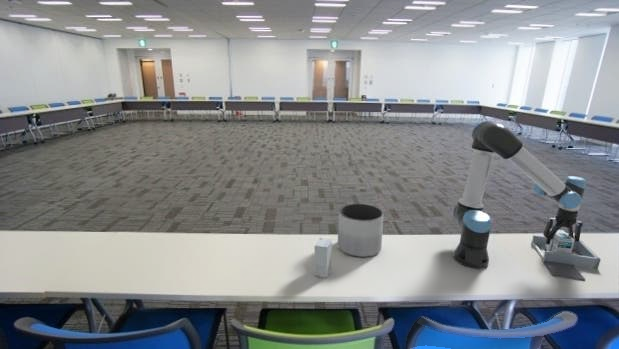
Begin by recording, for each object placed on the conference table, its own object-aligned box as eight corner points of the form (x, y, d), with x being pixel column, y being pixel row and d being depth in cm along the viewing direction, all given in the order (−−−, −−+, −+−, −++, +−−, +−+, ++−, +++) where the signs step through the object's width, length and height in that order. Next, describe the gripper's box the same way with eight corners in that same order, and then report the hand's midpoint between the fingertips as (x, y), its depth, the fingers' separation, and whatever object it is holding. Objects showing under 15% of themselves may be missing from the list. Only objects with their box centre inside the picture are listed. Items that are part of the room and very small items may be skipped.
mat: (552, 275, 145) (553, 274, 145) (543, 261, 156) (543, 260, 156) (585, 280, 142) (585, 279, 142) (572, 266, 153) (573, 265, 153)
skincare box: (326, 278, 142) (327, 248, 138) (313, 276, 144) (314, 245, 139) (331, 268, 150) (332, 239, 145) (318, 266, 151) (319, 236, 147)
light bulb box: (569, 259, 157) (575, 239, 154) (554, 258, 158) (559, 238, 155) (558, 249, 167) (563, 229, 164) (543, 247, 169) (548, 228, 165)
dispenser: (543, 261, 157) (546, 251, 156) (531, 243, 174) (533, 234, 172) (597, 268, 151) (600, 259, 149) (579, 249, 168) (581, 240, 166)
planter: (373, 236, 180) (375, 202, 174) (387, 257, 159) (390, 219, 153) (333, 238, 177) (334, 204, 171) (343, 260, 156) (344, 222, 150)
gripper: (547, 208, 155) (536, 251, 162) (597, 214, 150) (584, 258, 156) (541, 203, 162) (531, 244, 169) (589, 208, 157) (577, 251, 163)
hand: (557, 251), depth 163 cm, fingers closed on light bulb box, 7 cm apart
